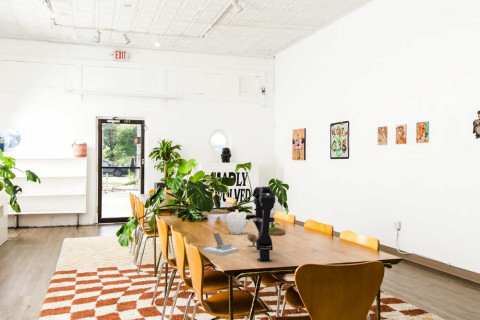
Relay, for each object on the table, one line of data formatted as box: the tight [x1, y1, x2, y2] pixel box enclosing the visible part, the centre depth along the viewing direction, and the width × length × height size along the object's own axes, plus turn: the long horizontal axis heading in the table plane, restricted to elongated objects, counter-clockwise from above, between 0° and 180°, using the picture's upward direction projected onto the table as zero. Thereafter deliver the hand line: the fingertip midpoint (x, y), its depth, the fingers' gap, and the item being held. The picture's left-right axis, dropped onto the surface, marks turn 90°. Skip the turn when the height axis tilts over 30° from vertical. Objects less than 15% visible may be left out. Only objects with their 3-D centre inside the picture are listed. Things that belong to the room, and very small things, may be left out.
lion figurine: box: [246, 232, 258, 248], centre depth 297 cm, size 15×5×9 cm, turn 92°
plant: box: [269, 222, 286, 237], centre depth 349 cm, size 20×20×11 cm
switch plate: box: [202, 243, 240, 256], centre depth 279 cm, size 16×16×5 cm
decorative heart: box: [225, 211, 250, 235], centre depth 342 cm, size 18×11×17 cm, turn 106°
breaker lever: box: [211, 230, 225, 248], centre depth 281 cm, size 2×5×12 cm
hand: (259, 232), depth 276 cm, fingers closed
